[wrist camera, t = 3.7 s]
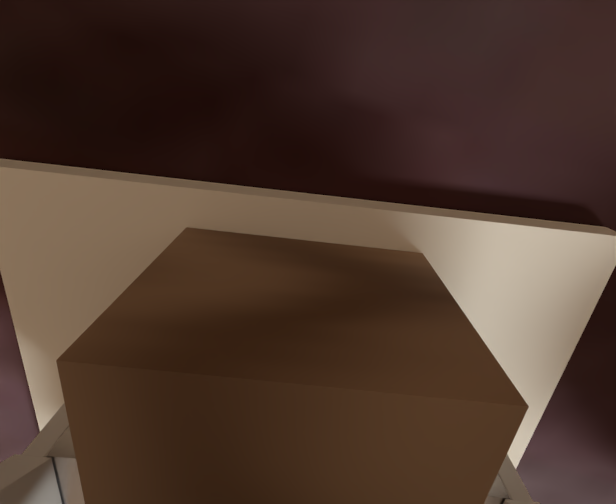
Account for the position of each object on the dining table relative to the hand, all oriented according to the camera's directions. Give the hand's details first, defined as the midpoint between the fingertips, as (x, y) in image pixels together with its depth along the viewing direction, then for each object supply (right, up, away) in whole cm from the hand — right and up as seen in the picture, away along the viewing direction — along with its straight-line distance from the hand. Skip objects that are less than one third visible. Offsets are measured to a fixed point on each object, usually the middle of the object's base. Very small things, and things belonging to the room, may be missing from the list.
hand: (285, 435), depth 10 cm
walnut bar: (0, +1, +1) cm, 2 cm away
